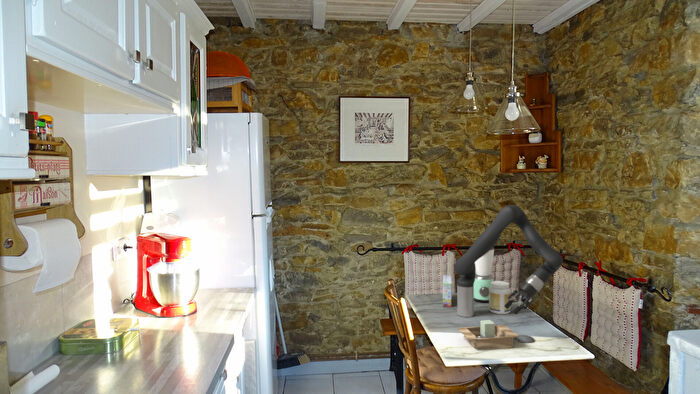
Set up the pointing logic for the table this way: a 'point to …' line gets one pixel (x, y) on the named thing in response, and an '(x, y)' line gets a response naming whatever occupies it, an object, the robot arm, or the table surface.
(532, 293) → the robot arm
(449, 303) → the snack box
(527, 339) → the slate mat
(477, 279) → the mint green blender
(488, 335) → the box
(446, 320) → the table surface
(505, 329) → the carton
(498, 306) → the supplement tub
